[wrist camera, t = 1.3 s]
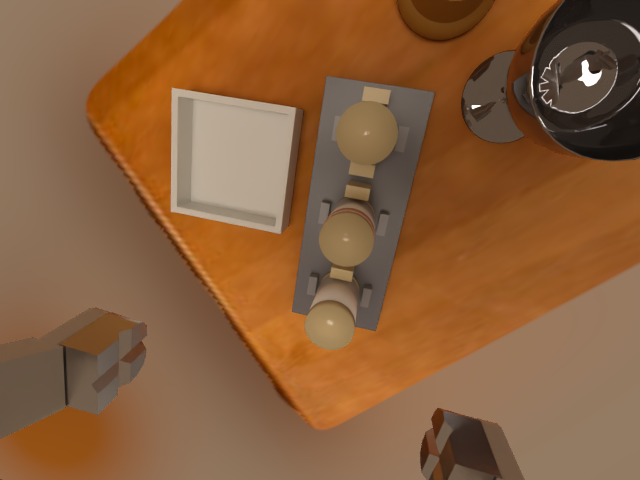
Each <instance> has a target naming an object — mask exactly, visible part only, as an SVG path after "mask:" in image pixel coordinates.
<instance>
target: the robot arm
mask: <svg viewBox="0 0 640 480" xmlns="http://www.w3.org/2000/svg"><path fill="white" fill-rule="evenodd" d="M146 336H147V325H146V324H145V323H143V322H141V321H138V320H134V319H131V318H128V317H125V316H122V315H119V314H116V313H111V312H108V311H105V310H102V309H99V308H89V309H88V310H86V311H84V312H83V313H81V314H79V315H78V316H76V317H74V318H72V319H71V320H69V321H67V322H66V323H64V324H63V325H61V326H59V327H57V328H56V329H54V330H52V331H51V332H49V333H47V334H46V335H44V336H42V337H41V338H39V339H37V338H34V337H32V338H28V339H23V340H19V341H15V342H10V343H6V344H1V345H0V439H1V438H4V437H6V436H8V435H10V434H12V433H14V432H16V431H18V430H20V429H22V428H25V427H27V426H29V425H31V424H33V423H35V422H37V421H39V420H41V419H43V418H46V417H48V416H50V415H52V414H54V413H56V412H58V411H60V410H62V409H64V408H66V406H68V407H72V408H75V409H79V410H83V411H86V412H90V413H93V414H96V415H98V414H99V413H100V412H101V411H102V410H103V409H104V408H105V407H106V406H107V405H108V404H109V403H110V402H111V401H112V400H113V399H114V398H115V397H116V396H117V395H118V387H120V386H123V385H125V384H128V383H130V382H131V381H132V380H133V379H134V378H135V377H136V376H137V375H138V373H139V371H140V370H141V368H142V366H143V364H144V360H145V357H146V348H145V346H144V344H143V342H142V340H143V339H144V338H145V337H146ZM431 420H432V425H433V428H432V429H430V430H428V431H426V433H425V435H424V438H423V440H422V445H421V451H420V464H421V471H422V474H423V475H424V477H425V478H426V479H427V480H524V477H523V475H522V473H521V471H520V468H519V466H518V464H517V462H516V460H515V457H514V455H513V453H512V450H511V448H510V446H509V444H508V441H507V439H506V437H505V435H504V432H503V430H502V428H501V427H500V426H499V425H498V424H497V423H493V422H489V421H485V420H482V419H476V418H472V417H469V416H465V415H462V414H458V413H454V412H451V411H448V410H444V409H441V408H437V409H436V411H435V412H434V414H433V416H432V418H431ZM0 480H1V479H0Z"/></svg>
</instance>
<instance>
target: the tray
mask: <svg viewBox="0 0 640 480" xmlns="http://www.w3.org/2000/svg"><path fill="white" fill-rule="evenodd" d="M303 112H304V110H302V109H298V108H294V107H288V106H282V105H276V104H270V103H263V102H257V101H251V100H245V99H238V98H232V97H226V96H220V95H213V94H207V93H201V92H195V91H189V90H182V89H176V88H172V135H171V211H172V212H176V213H181V214H186V215H191V216H196V217H201V218H206V219H210V220H215V221H220V222H225V223H230V224H235V225H240V226H244V227H249V228H254V229H259V230H264V231H269V232H274V233H278V234H281V233H282V232H283V231H284V230H285V229H286V228H287V227H288V226H289V220H290V212H291V204H292V197H293V189H294V181H295V174H296V166H297V158H298V150H299V143H300V135H301V127H302V120H303Z"/></svg>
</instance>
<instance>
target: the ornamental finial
mask: <svg viewBox="0 0 640 480" xmlns="http://www.w3.org/2000/svg"><path fill="white" fill-rule="evenodd" d="M494 1H495V0H397V3H398V7H399V11H400V13H401V15H402V17H403V19H404V21H405V22H406V24H407V25H408V26H409V27H410V28H411V29H412V30H413V31H414V32H415V33H417V34H418V35H420V36H422V37H425V38H428V39H433V40H446V39H451V38H454V37H457V36H459V35H462V34H464V33H465V32H467V31H469V30H470V29H471V28H473V27H474V26H475V25H476V24H478V23H479V22H480V21H481V20H482V18H483V17H484V16H485V15H486V14H487V12H488V11H489V9H490V8H491V6H492V4H493V3H494Z"/></svg>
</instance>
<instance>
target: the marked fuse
mask: <svg viewBox="0 0 640 480" xmlns="http://www.w3.org/2000/svg"><path fill="white" fill-rule="evenodd" d="M374 240H375V211H374V208H373V207H372V205H371V204H370V202H369V201H365V200H359V199H354V198H349V197H345V198H343V199H341V200H340V201H339V202H338V203H337V204H336V206H335V207H334V209H333V211H332V212H331V214H330V215H329V216H328V218H327V219H326V221H325V222H324V224H323V226H322V229H321V231H320V234H319V245H320V249H321V251H322V253H323V254H324V256H325V257H326V258H327V259H328V260H329V261H331V262H332V263H334V264H336V265H339V266H344V267H350V266H355V265H358V264H360V263H362V262H363V261H365V260H366V259H367V258H368V257H369V255H370V254H371V252H372V249H373V245H374Z"/></svg>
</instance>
